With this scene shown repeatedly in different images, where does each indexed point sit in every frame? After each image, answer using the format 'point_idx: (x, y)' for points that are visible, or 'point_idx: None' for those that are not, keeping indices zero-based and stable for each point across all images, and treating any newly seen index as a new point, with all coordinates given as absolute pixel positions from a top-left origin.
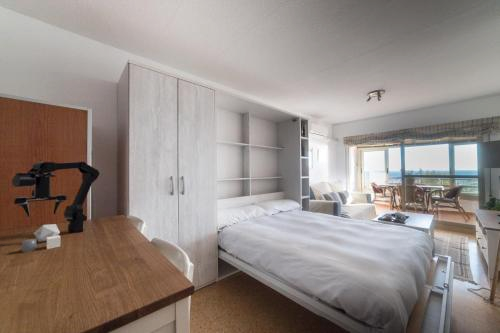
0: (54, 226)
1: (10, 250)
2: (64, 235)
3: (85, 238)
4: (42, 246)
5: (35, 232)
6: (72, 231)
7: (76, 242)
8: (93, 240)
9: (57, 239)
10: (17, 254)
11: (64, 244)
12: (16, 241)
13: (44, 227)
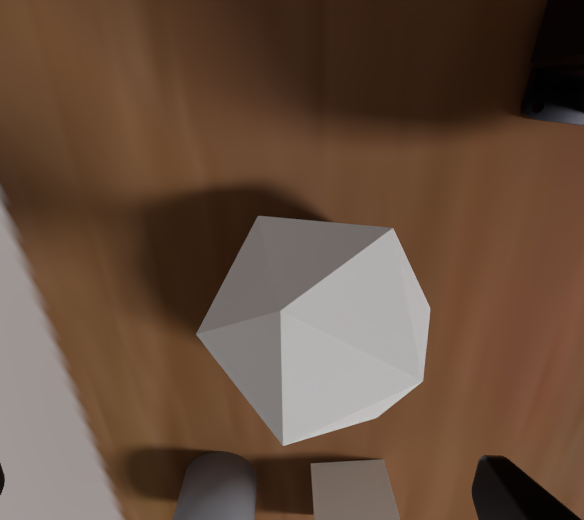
0: (398, 399)
1: (109, 404)
2: (463, 178)
3: (557, 430)
4: None
5: (213, 352)
6: (568, 97)
7: None
8: None
9: None
10: None
11: (409, 487)
12: (52, 91)
13: (295, 441)
